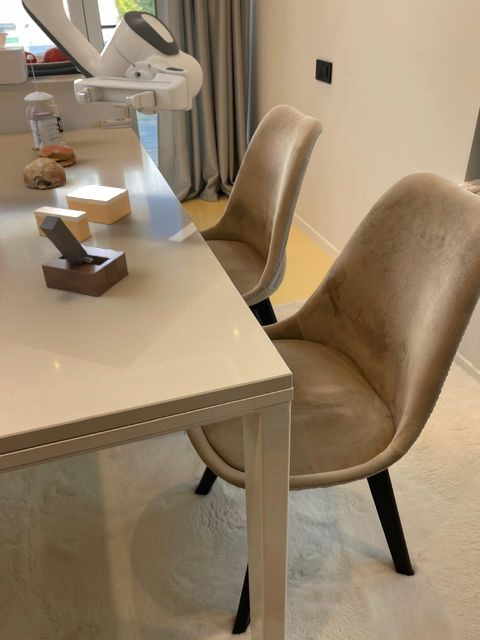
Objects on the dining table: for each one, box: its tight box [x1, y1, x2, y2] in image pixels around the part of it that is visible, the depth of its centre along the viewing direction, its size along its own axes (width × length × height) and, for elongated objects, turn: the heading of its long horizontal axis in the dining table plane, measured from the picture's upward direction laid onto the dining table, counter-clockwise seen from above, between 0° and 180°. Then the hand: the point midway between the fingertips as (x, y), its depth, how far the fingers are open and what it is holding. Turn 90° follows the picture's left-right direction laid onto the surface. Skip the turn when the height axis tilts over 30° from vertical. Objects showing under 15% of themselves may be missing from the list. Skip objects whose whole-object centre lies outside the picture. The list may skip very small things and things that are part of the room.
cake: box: [65, 184, 132, 225], centre depth 119 cm, size 10×8×5 cm
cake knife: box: [40, 215, 97, 265], centre depth 89 cm, size 5×2×14 cm
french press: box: [23, 54, 63, 148], centre depth 163 cm, size 10×12×25 cm
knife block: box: [41, 244, 129, 298], centre depth 93 cm, size 10×9×4 cm
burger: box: [37, 144, 77, 168], centre depth 153 cm, size 10×9×5 cm
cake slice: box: [33, 205, 91, 243], centre depth 109 cm, size 10×3×5 cm, turn 69°
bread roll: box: [22, 157, 67, 190], centre depth 138 cm, size 10×10×8 cm
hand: (105, 100), depth 91 cm, fingers open, 8 cm apart
